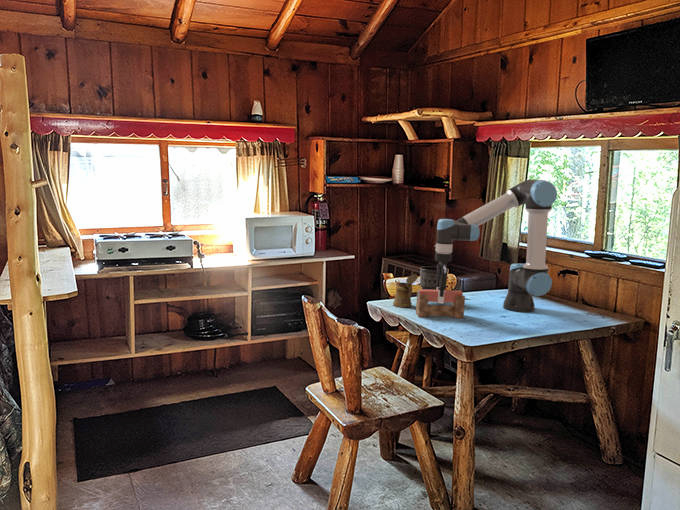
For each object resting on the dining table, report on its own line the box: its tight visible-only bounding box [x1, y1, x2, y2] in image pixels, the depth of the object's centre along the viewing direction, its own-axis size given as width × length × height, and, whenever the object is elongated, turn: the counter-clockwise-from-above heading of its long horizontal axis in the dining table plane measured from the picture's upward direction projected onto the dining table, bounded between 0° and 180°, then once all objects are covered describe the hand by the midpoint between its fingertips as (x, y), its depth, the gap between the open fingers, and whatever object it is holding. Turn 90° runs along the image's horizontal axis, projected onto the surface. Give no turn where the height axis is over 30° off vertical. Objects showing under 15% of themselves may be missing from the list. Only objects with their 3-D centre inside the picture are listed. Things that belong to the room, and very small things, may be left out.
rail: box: [417, 288, 464, 304], centre depth 276 cm, size 20×4×5 cm, turn 92°
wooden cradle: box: [415, 290, 466, 320], centre depth 277 cm, size 21×7×10 cm, turn 92°
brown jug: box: [392, 272, 419, 309], centre depth 291 cm, size 9×14×18 cm, turn 30°
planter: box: [419, 265, 442, 305], centre depth 303 cm, size 13×13×18 cm
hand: (439, 302), depth 276 cm, fingers closed on rail, 4 cm apart
